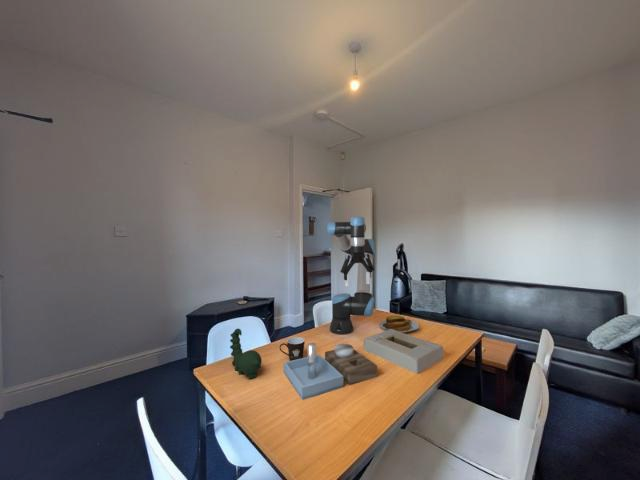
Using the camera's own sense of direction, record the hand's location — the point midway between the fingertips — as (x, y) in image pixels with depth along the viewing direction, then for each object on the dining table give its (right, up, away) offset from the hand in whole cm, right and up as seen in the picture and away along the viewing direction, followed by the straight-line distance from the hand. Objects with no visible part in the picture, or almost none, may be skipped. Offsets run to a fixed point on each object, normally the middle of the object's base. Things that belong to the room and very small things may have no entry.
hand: (357, 285), depth 141 cm
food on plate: (+32, -34, +32) cm, 57 cm away
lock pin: (-24, -34, -29) cm, 51 cm away
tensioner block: (-7, -35, -21) cm, 41 cm away
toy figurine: (-54, -36, -22) cm, 69 cm away
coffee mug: (-34, -35, -12) cm, 50 cm away
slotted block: (+22, -35, -6) cm, 42 cm away
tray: (-24, -35, -29) cm, 52 cm away
